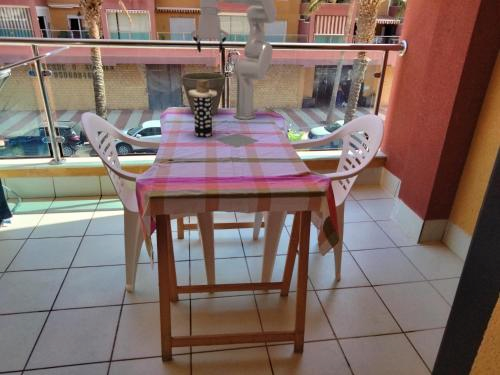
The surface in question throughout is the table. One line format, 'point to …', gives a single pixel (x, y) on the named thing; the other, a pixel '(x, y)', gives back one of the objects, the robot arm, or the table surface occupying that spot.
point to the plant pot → (214, 84)
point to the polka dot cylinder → (203, 116)
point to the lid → (202, 90)
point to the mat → (236, 140)
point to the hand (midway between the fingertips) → (210, 52)
